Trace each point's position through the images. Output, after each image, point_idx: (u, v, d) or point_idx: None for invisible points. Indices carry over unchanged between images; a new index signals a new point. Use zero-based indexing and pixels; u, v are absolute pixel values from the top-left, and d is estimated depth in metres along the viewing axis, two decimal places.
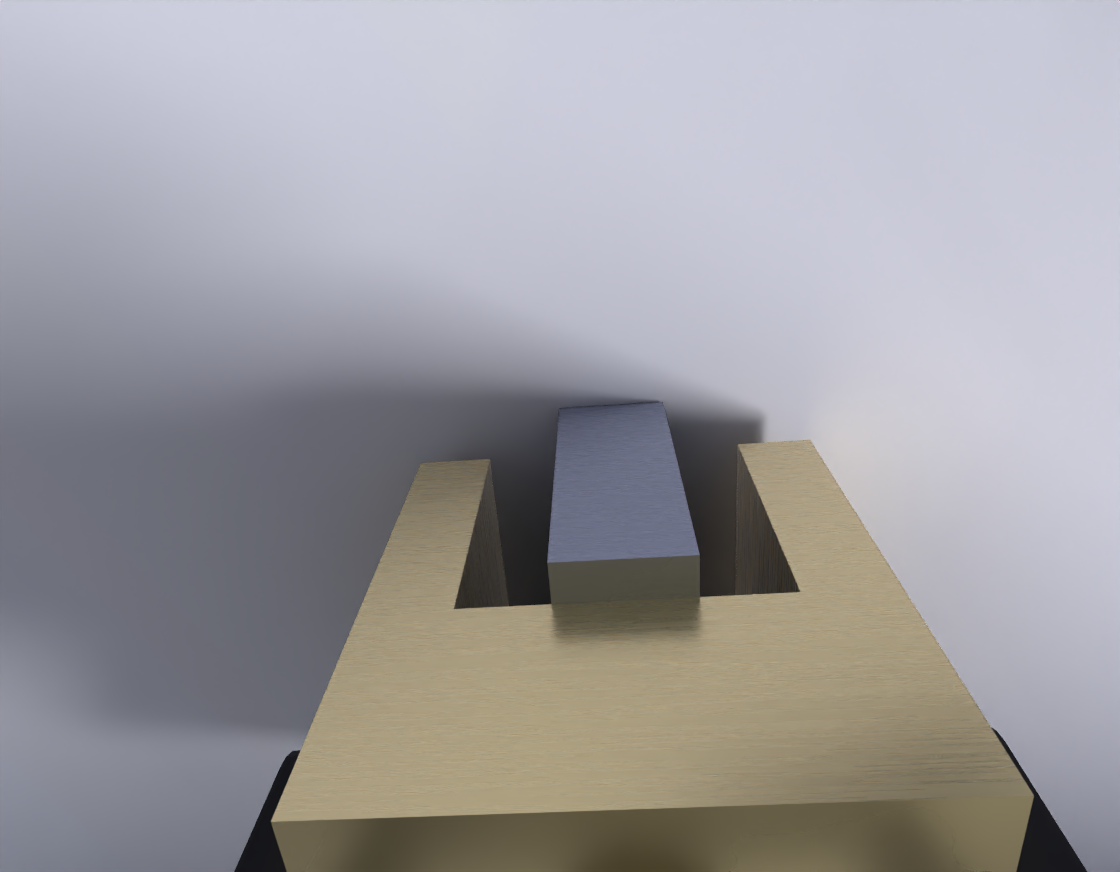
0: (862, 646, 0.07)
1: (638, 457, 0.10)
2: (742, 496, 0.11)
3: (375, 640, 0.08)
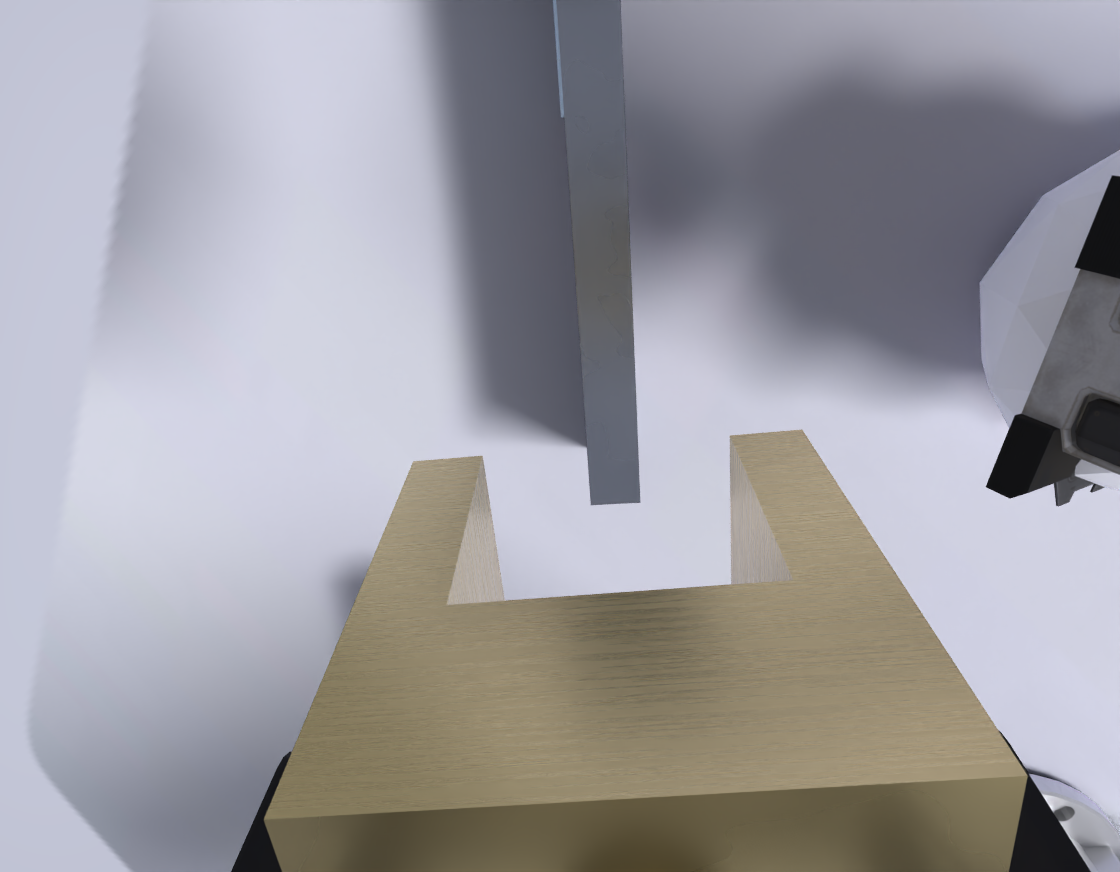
0: (855, 632, 0.07)
1: None
2: (736, 487, 0.11)
3: (368, 638, 0.08)
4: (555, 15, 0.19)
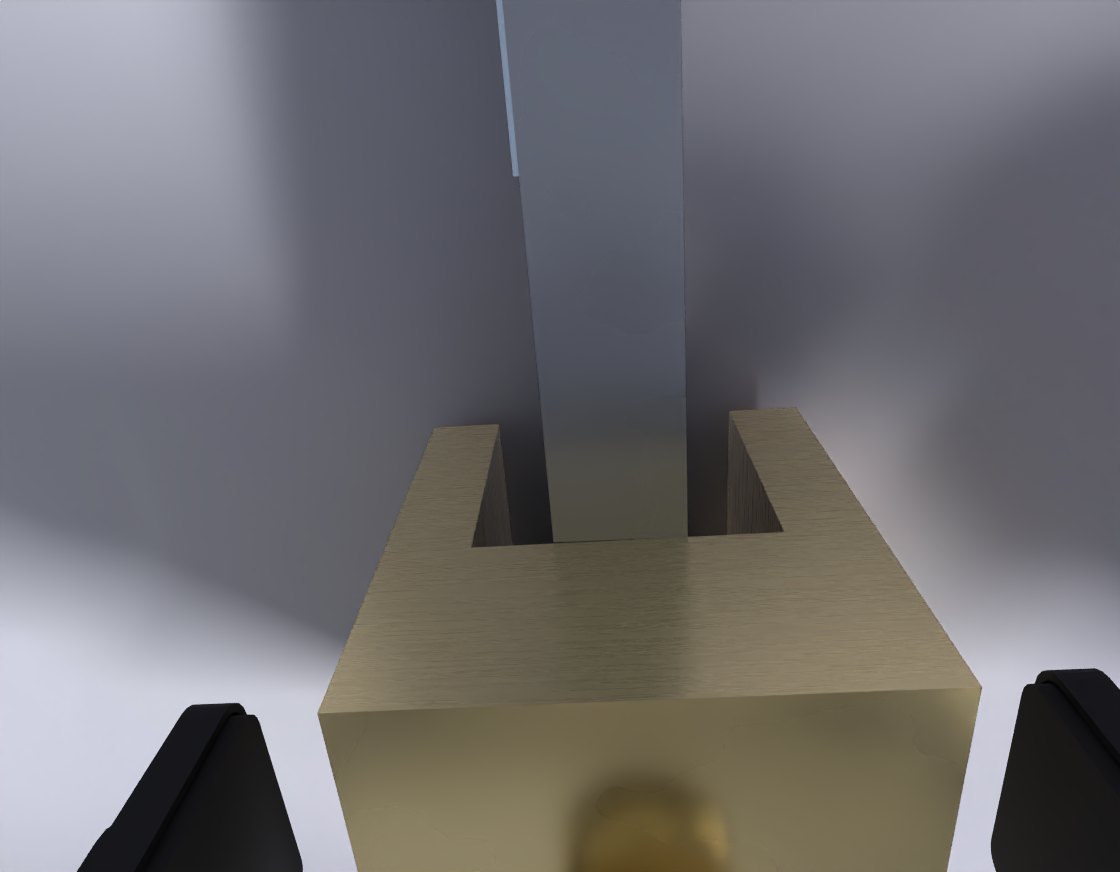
0: (838, 574, 0.08)
1: None
2: (733, 458, 0.12)
3: (401, 574, 0.09)
4: None
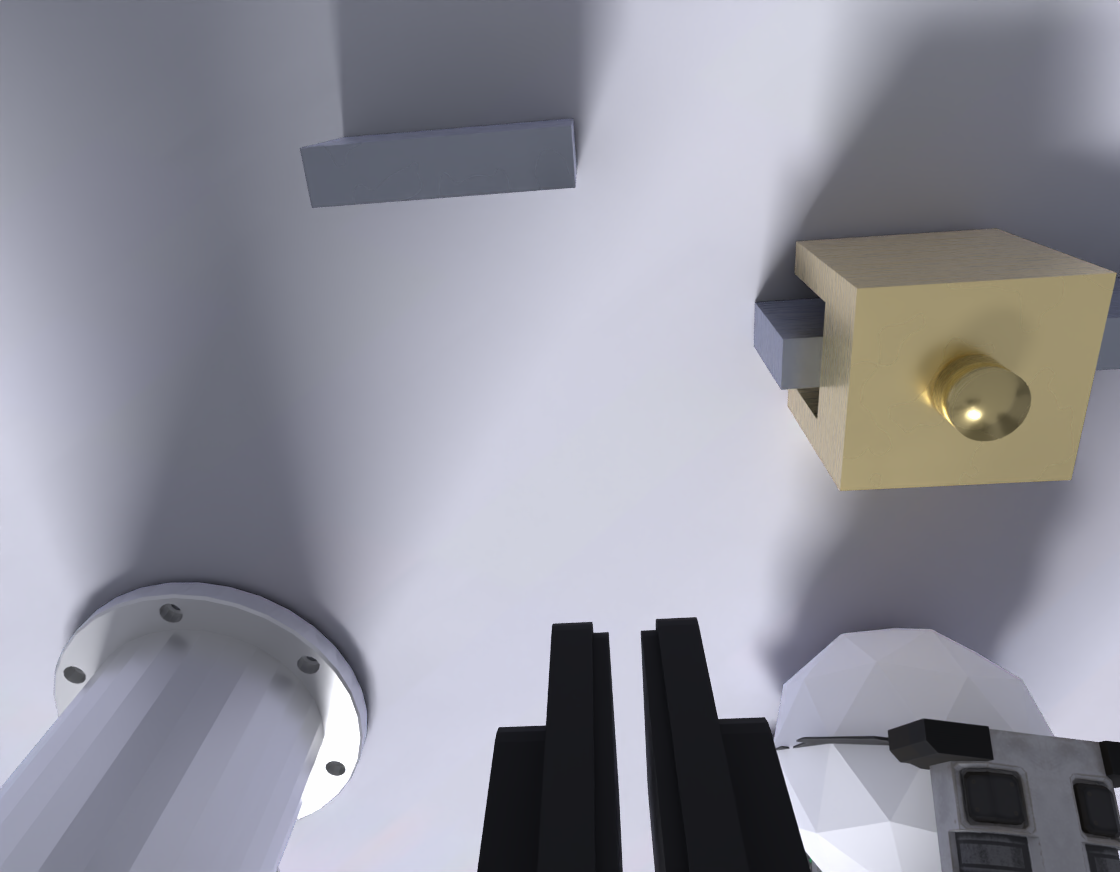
0: None
1: None
2: None
3: None
4: None
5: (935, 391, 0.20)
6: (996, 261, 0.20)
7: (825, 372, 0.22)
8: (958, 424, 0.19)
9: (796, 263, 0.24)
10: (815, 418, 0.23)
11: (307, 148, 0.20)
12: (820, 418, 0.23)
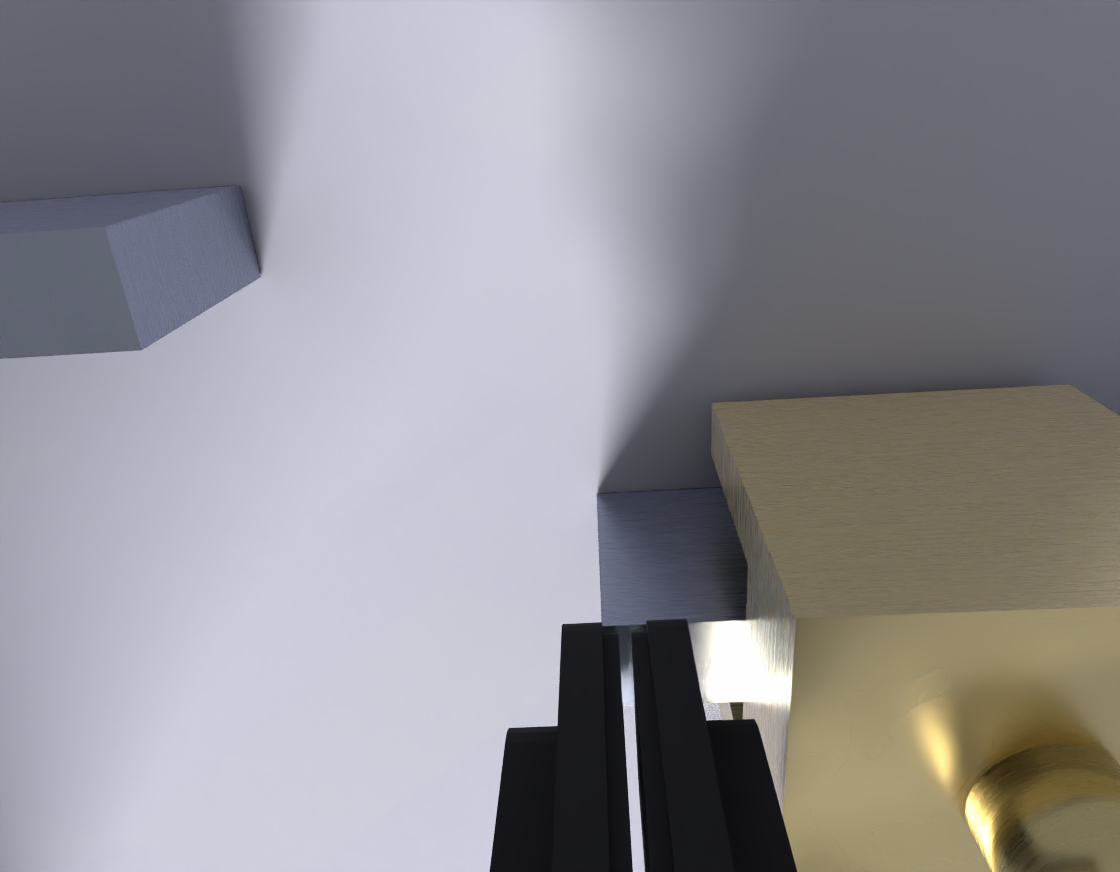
0: None
1: (209, 272, 0.12)
2: None
3: None
4: None
5: (973, 804, 0.09)
6: (1099, 512, 0.10)
7: (749, 693, 0.11)
8: None
9: (712, 440, 0.14)
10: None
11: None
12: None
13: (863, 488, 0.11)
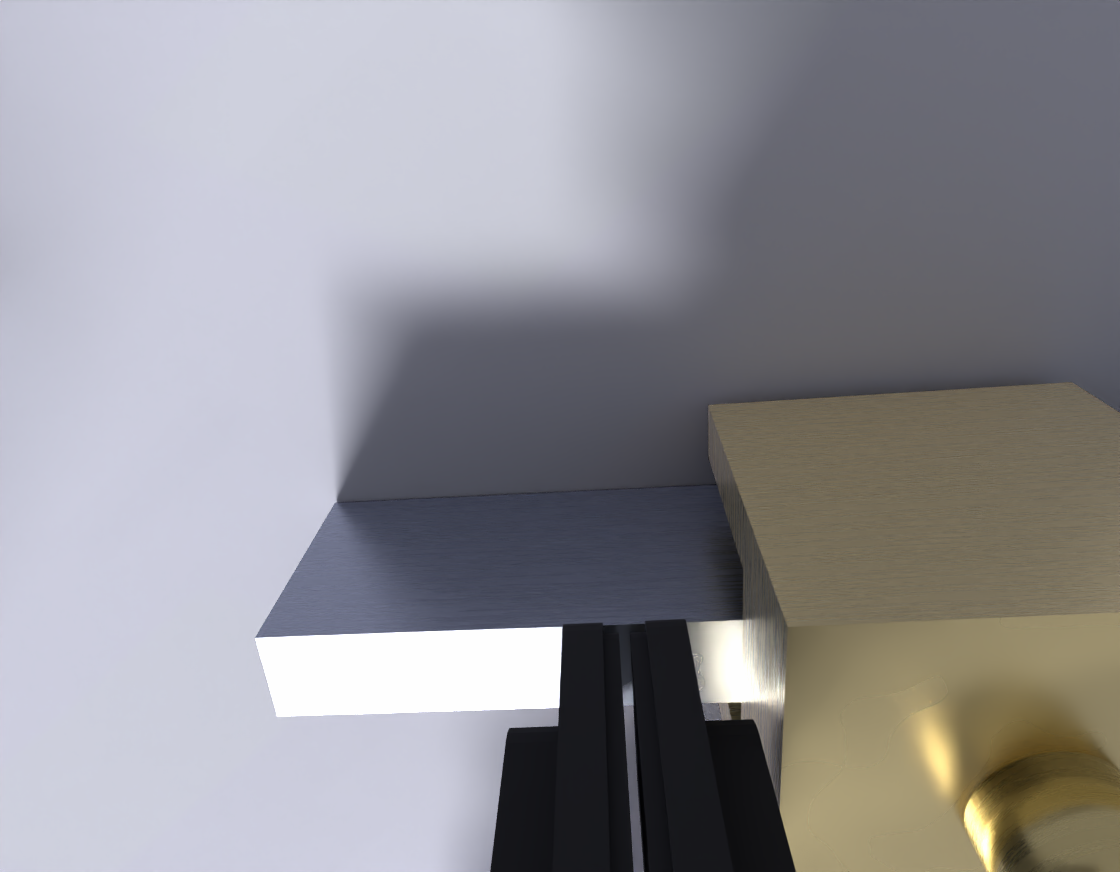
0: None
1: None
2: None
3: None
4: None
5: (971, 812, 0.09)
6: (1099, 514, 0.09)
7: (747, 699, 0.11)
8: None
9: (709, 443, 0.14)
10: None
11: None
12: None
13: (859, 491, 0.10)
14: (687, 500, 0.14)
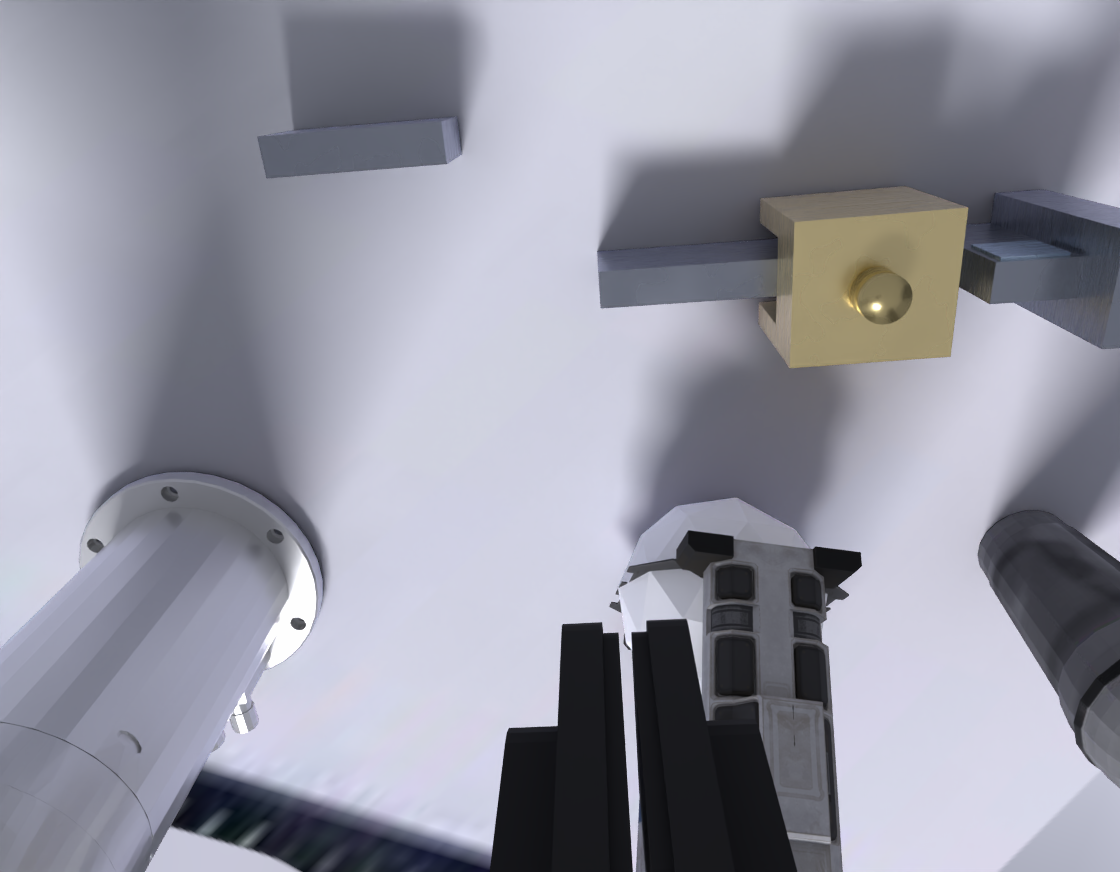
0: None
1: (454, 146, 0.32)
2: None
3: None
4: None
5: (851, 293, 0.29)
6: (894, 204, 0.29)
7: (779, 288, 0.31)
8: (864, 312, 0.28)
9: (760, 214, 0.34)
10: (775, 324, 0.32)
11: (262, 137, 0.30)
12: (777, 322, 0.32)
13: (818, 206, 0.30)
14: (750, 242, 0.34)
